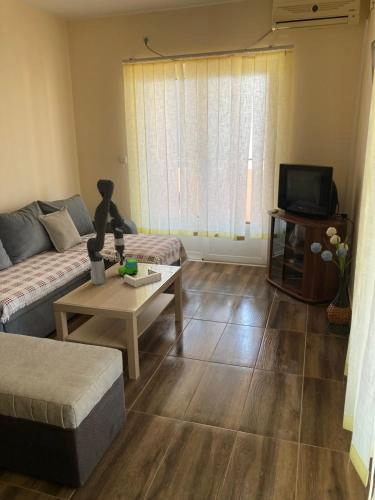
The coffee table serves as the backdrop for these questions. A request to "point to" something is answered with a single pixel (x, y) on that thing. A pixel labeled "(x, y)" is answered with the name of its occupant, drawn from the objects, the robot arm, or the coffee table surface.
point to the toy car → (129, 267)
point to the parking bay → (143, 278)
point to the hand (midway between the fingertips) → (121, 265)
